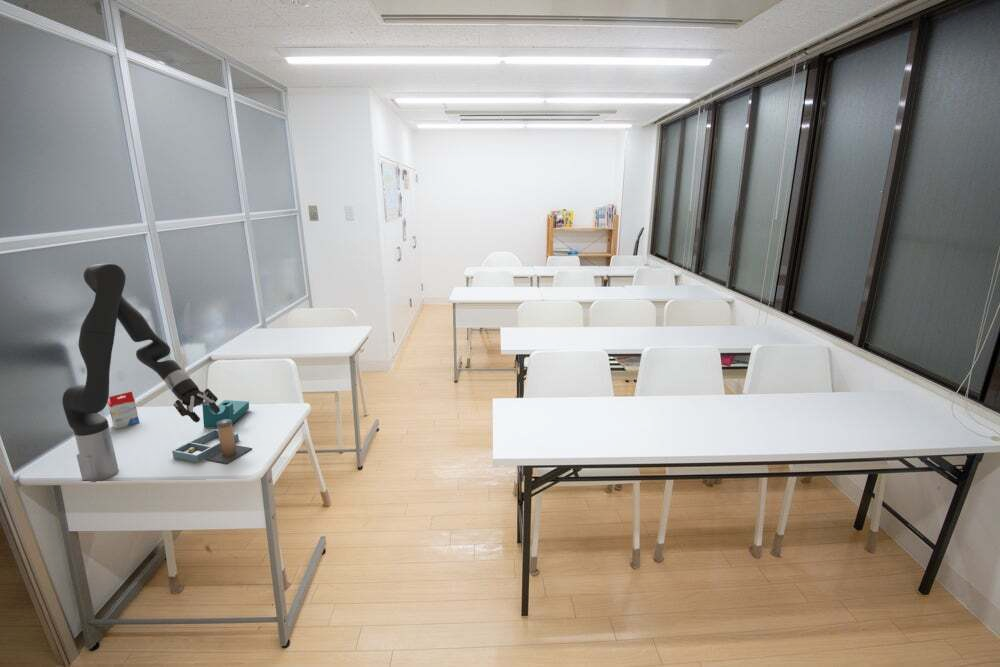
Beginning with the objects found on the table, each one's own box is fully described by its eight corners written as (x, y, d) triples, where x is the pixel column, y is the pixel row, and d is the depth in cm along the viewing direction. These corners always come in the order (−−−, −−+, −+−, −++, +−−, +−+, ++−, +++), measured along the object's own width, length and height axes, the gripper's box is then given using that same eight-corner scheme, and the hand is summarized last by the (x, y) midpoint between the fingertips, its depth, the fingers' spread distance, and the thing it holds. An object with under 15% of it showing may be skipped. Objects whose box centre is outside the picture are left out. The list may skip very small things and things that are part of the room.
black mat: (226, 464, 179) (226, 463, 179) (205, 460, 182) (205, 458, 182) (252, 449, 190) (252, 448, 190) (231, 445, 193) (231, 444, 193)
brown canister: (228, 457, 183) (223, 425, 179) (218, 455, 184) (213, 423, 181) (239, 451, 187) (234, 420, 184) (229, 449, 189) (224, 418, 185)
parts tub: (197, 462, 180) (196, 455, 179) (173, 457, 183) (171, 450, 183) (239, 440, 197) (237, 433, 197) (215, 435, 201) (214, 429, 200)
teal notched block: (229, 429, 208) (228, 406, 206) (203, 427, 208) (202, 404, 205) (249, 411, 226) (248, 390, 223) (225, 410, 225) (224, 389, 223)
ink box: (136, 419, 216) (130, 388, 212) (139, 422, 213) (133, 391, 209) (112, 426, 210) (105, 394, 206) (115, 429, 207) (108, 397, 203)
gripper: (167, 384, 176) (196, 418, 176) (202, 372, 190) (228, 404, 189) (159, 396, 179) (187, 430, 179) (193, 384, 192) (220, 415, 192)
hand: (208, 416), depth 184 cm, fingers open, 8 cm apart
